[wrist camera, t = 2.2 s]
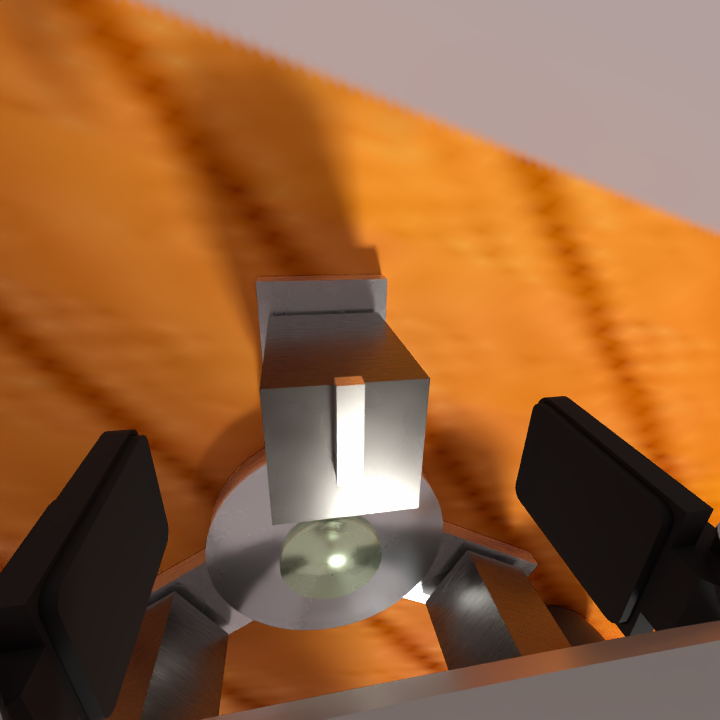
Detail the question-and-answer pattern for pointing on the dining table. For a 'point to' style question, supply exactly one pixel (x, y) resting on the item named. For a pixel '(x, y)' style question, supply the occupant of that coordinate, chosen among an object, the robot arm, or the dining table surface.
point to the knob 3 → (490, 614)
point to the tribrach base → (318, 522)
